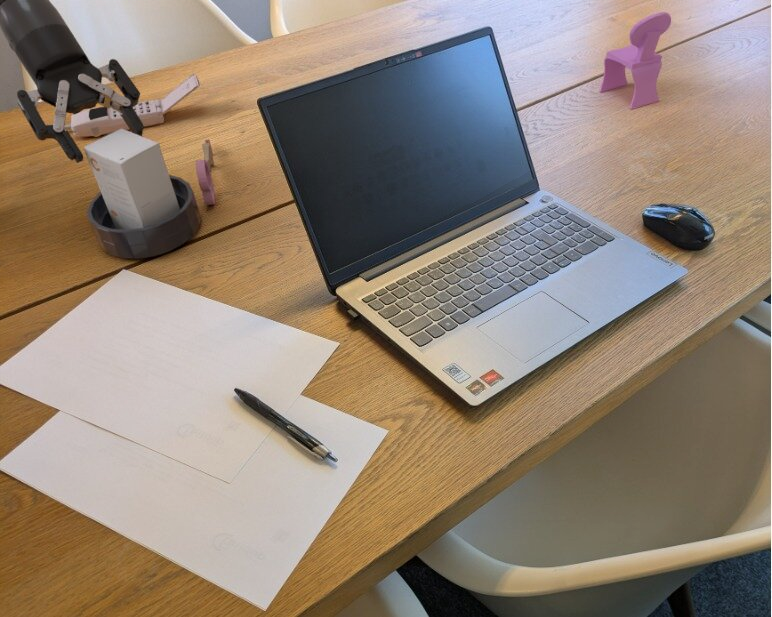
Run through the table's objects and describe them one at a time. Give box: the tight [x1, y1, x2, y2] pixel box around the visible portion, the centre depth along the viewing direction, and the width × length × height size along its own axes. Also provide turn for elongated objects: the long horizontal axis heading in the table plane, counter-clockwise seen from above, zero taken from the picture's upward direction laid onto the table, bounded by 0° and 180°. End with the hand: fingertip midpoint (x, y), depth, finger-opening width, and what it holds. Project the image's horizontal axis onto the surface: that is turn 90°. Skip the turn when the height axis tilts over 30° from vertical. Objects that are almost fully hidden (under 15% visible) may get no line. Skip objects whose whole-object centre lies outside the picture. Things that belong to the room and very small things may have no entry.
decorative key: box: [195, 139, 216, 206], centre depth 103 cm, size 7×1×20 cm
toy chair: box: [599, 11, 672, 110], centre depth 113 cm, size 8×9×15 cm
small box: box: [83, 128, 180, 230], centre depth 90 cm, size 8×6×13 cm
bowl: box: [86, 174, 201, 260], centre depth 93 cm, size 14×14×5 cm
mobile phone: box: [64, 73, 201, 138], centre depth 117 cm, size 6×6×25 cm
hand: (111, 147), depth 88 cm, fingers open, 8 cm apart
